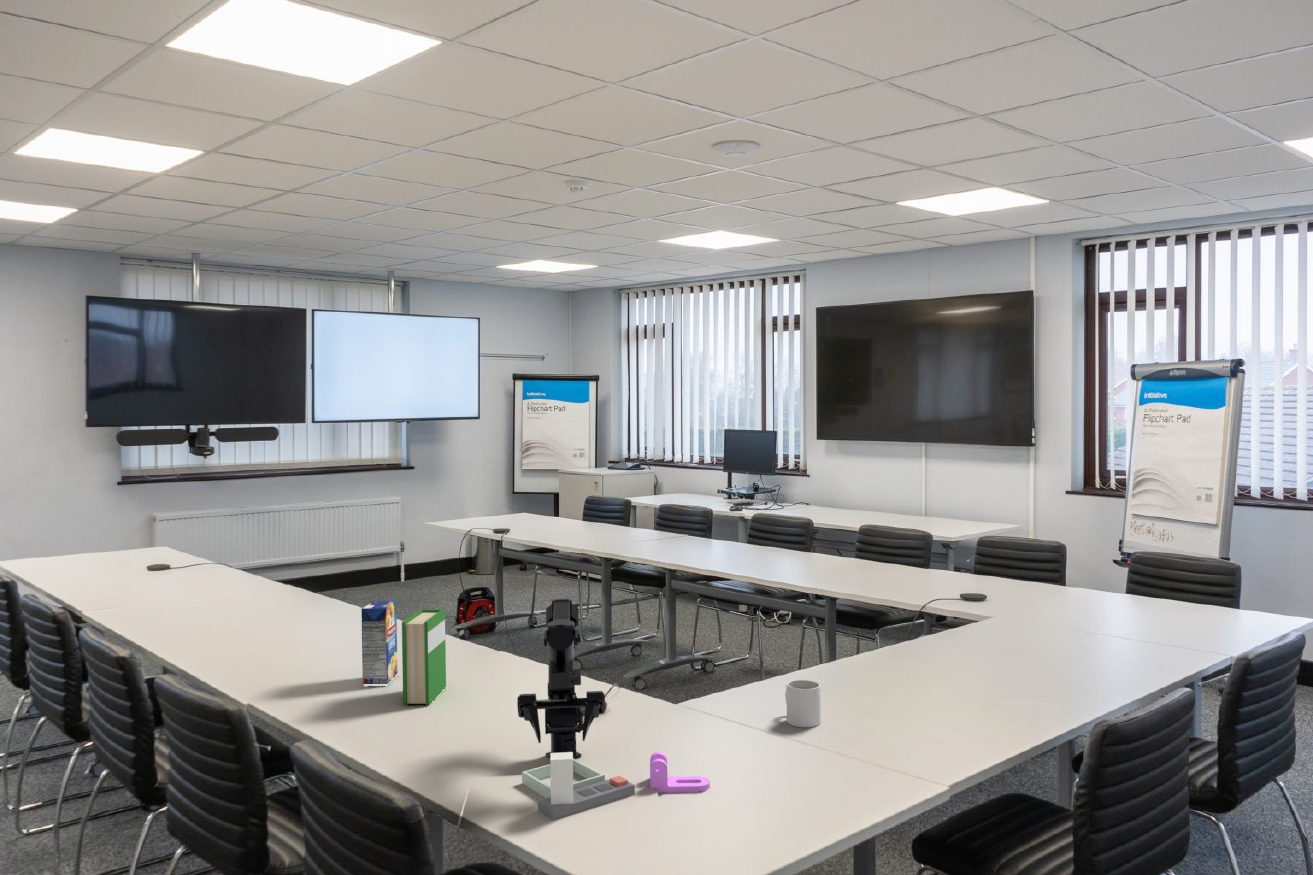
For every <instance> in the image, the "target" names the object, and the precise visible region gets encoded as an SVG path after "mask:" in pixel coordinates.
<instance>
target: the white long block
mask: <svg viewBox="0 0 1313 875" xmlns="http://www.w3.org/2000/svg"><path fill="white" fill-rule="evenodd" d="M549 764H550V773H551V777H550V787H551V805H555V804H559V805H561V804H573V783H574V772H573V752H562V753H551V757H549Z"/></svg>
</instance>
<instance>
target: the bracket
mask: <svg viewBox="0 0 1313 875" xmlns="http://www.w3.org/2000/svg"><path fill="white" fill-rule="evenodd" d="M649 784H650V785H649V786H650V789H656V791H657V792H656V793H658V792H666V793H700V792H699V791H703V792H706V791H705V790H707V789H708V790H710V789H711V780H710V779H709V778H708V777H705V776H700V775H699V776H698V775H697V776H695V775H694V776H689V775H688V776H686V775H685V776H683V775H682V776H669V775H668V759H667V756H666V754H665V753H664V752H661V751H655V752H653V753H652V754H651V756H650V758H649ZM709 788H710V789H709ZM708 790H707V791H708Z"/></svg>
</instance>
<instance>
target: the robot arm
mask: <svg viewBox="0 0 1313 875" xmlns="http://www.w3.org/2000/svg"><path fill="white" fill-rule="evenodd" d="M579 615H580V614H579V607H578V605H575V604H574V603H573V600H572V599H570V598H554V599H553V600H551V604H550V605H548V606H547V607H546V608H545V626H546V627H545V629H544V633H543V635H544V636H543V647H547V656H548V680H547V681H548V682H547V699H537V693H522V694H521V693H520V694H519V695H518V696H517V702H516V703H517V705H516V706H517V715H518V717H519V718H521V719H523V718H524V721H526V722H529V723H530V725H531V727H532V730H533V731H534V734H535V736H536V739H537V742H538V744H541V743H542V742H541V741H542V734H541V727H540V720H539V719H540V718H539V711H538V710H544V727H545V730H544V733H545V734H544V735H548V734H549V735H550V751H548V752H545V756H546V757H548V758H550V757H551V753H562V752H573V759H577V758H581V757H582V756H583V755H582V753H580V752H578V751H577V737H576V736H577V735H576V734H577V733H578V734H580V733H582V742H585V740H586V737H587V736H588V735H587V734H588V732H589V730H590V727H591V725H592V723H593V721H594V720H595V719H598V718H599V716H600V715H604V714H605V712H606V711H605V708H606V695H605V693H604V691H602V690H592V691H591V690H590V691H588V690H587V691H586V697H578V696H577V693H576V687H575V686H581V685H582V669H581V668H577V669H576V668H575V655H574V654H575V649H576V646H579V643H581V640H582V639H581V633H580V631H579V629H578V628H579V627H580V618H579V617H580V616H579ZM581 708H584V712H583V711H582V709H581Z"/></svg>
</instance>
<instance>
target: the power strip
mask: <svg viewBox="0 0 1313 875" xmlns="http://www.w3.org/2000/svg"><path fill="white" fill-rule="evenodd" d="M635 790H636V788H635V784H634V783H631V782H630V781H629V780H628V779H626V778H624V777H622V776H621V775H617V776H613V777H610V778H608V779H605V781H602V782H598V783H595V784H592V785H588V786H585V787H581V788H578V789H575V790H573V804H561V805H559V804H555V805H551V797H548V798H545V797H543V798H541V799H538V800H537V811H538V812H540V814H542V815H544V816H545V817H547V818H549V819H550V820H552V821H556V820H558V819H562V818H565V817H568V816H572V815H574V814H578V813H581V812H584V811H587V810H591V809H593V808H597V807H600V806H604V805H607V804H610V803H612V802H616V801H619V800H621V799H625V798H629V797H631V796H634V795H636V794H635V792H636V791H635Z"/></svg>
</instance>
